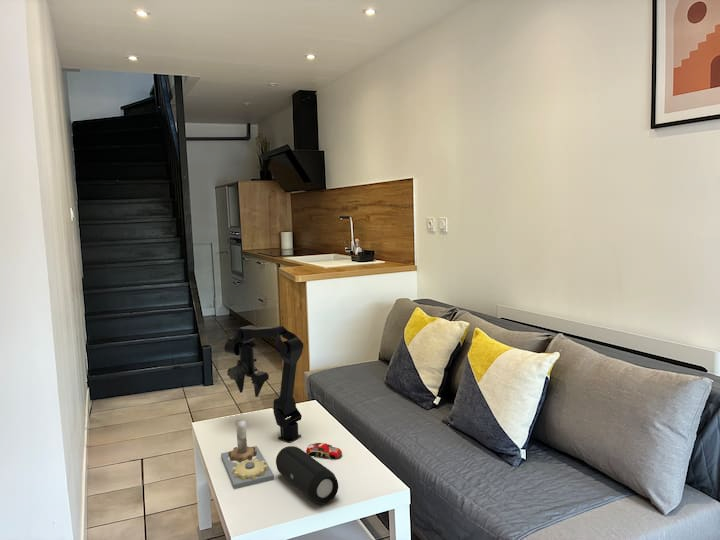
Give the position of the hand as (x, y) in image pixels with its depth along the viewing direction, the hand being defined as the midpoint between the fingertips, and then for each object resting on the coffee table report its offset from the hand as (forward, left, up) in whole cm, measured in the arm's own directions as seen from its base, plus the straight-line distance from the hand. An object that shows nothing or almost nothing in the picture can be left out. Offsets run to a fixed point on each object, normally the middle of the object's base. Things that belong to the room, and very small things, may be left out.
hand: (248, 394), depth 219 cm
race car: (-42, +3, -14) cm, 44 cm away
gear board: (-26, +25, -13) cm, 39 cm away
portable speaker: (-52, +23, -13) cm, 59 cm away
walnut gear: (-21, +22, -11) cm, 33 cm away
